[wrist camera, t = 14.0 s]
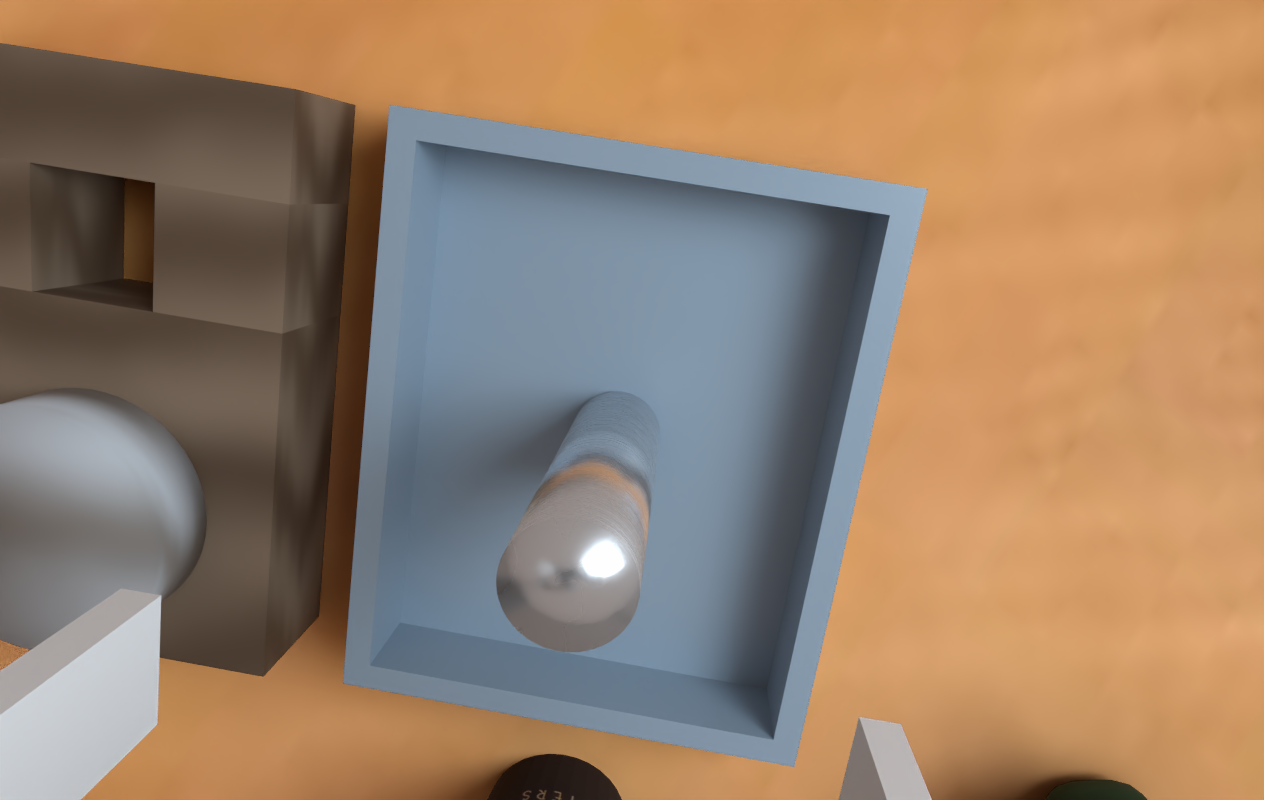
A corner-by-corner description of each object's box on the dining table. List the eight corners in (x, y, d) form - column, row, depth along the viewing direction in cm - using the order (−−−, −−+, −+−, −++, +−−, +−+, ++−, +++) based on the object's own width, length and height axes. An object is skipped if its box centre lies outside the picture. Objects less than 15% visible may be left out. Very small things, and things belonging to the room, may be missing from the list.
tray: (783, 700, 37) (794, 767, 33) (383, 627, 38) (342, 683, 34) (897, 190, 32) (927, 189, 28) (430, 117, 33) (389, 104, 29)
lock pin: (653, 481, 35) (628, 663, 21) (567, 467, 35) (488, 639, 21) (666, 398, 34) (650, 531, 20) (579, 384, 34) (504, 506, 20)
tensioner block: (318, 615, 38) (221, 722, 31) (20, 561, 39) (-150, 652, 31) (355, 105, 33) (248, 76, 25) (9, 51, 34) (-199, 7, 26)
